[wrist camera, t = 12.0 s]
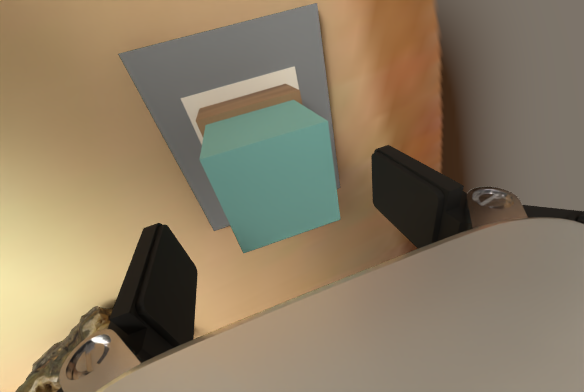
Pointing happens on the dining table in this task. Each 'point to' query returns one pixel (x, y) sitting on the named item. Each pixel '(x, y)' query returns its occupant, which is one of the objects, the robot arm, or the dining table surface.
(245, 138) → the teal block
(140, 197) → the dining table surface
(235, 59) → the grey square mat
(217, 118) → the walnut block
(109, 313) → the mineral specimen
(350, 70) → the dining table surface
